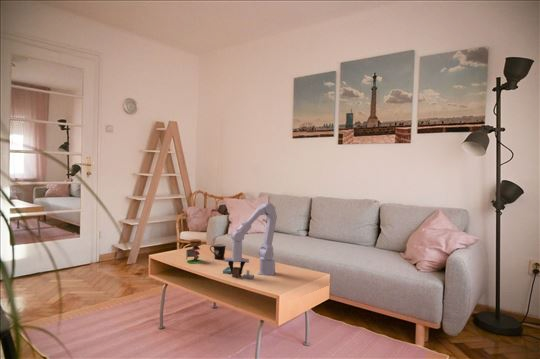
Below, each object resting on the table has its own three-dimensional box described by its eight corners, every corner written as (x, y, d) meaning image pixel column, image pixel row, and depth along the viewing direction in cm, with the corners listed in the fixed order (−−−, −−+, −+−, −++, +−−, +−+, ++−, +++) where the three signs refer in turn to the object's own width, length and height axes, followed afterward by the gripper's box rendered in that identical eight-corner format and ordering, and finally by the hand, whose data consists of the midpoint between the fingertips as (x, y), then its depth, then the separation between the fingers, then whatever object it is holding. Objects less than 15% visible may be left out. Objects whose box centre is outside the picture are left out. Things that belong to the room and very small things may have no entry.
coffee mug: (227, 259, 257) (228, 245, 257) (217, 261, 251) (217, 246, 251) (218, 256, 266) (219, 242, 265) (208, 257, 260) (209, 244, 260)
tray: (240, 270, 228) (240, 267, 228) (236, 274, 220) (236, 271, 220) (227, 269, 230) (227, 266, 230) (222, 273, 221) (222, 270, 221)
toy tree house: (205, 260, 253) (206, 238, 253) (200, 264, 240) (201, 242, 240) (189, 259, 254) (190, 238, 254) (183, 263, 242) (184, 241, 241)
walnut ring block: (240, 275, 217) (241, 267, 217) (238, 277, 213) (239, 269, 213) (234, 275, 218) (234, 266, 218) (232, 277, 214) (232, 268, 213)
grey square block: (253, 276, 216) (254, 269, 216) (251, 279, 211) (251, 272, 210) (244, 275, 217) (244, 268, 217) (241, 278, 212) (241, 271, 212)
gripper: (249, 250, 219) (249, 272, 219) (226, 249, 219) (225, 271, 220) (248, 253, 211) (247, 275, 212) (224, 252, 212) (223, 274, 213)
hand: (236, 274), depth 215 cm, fingers closed on walnut ring block, 4 cm apart
